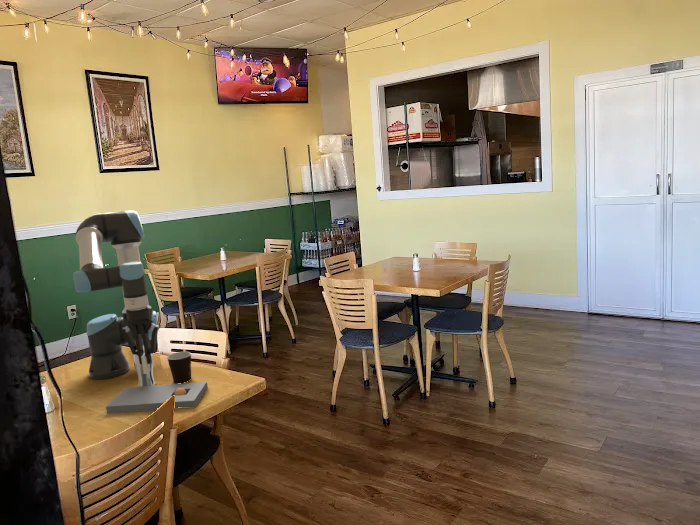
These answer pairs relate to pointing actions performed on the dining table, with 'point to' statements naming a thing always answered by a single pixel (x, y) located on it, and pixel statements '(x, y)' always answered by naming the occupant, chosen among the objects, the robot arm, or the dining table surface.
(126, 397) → the board
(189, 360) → the coffee mug
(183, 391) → the ball
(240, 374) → the dining table surface
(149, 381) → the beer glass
